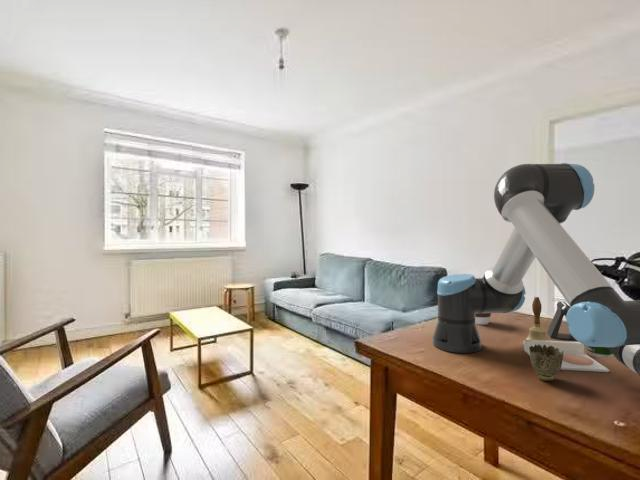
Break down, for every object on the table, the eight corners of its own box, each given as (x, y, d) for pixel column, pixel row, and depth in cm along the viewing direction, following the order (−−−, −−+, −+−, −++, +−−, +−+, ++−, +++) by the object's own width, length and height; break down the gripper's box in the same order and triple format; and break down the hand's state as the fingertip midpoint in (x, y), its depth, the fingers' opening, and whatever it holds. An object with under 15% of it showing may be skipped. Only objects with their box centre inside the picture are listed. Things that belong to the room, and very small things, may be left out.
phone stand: (576, 335, 122) (577, 302, 122) (581, 341, 117) (581, 306, 116) (546, 333, 126) (546, 300, 126) (550, 338, 121) (550, 304, 120)
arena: (543, 368, 96) (543, 356, 96) (524, 350, 110) (524, 339, 109) (609, 372, 93) (609, 359, 92) (581, 353, 106) (581, 341, 106)
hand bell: (521, 346, 113) (521, 298, 113) (524, 339, 120) (524, 293, 119) (551, 351, 108) (551, 301, 108) (553, 343, 115) (553, 296, 114)
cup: (523, 372, 93) (523, 343, 93) (552, 373, 93) (552, 343, 92) (538, 385, 86) (538, 354, 86) (569, 386, 85) (570, 354, 85)
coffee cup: (480, 328, 134) (480, 297, 134) (459, 321, 144) (459, 292, 144) (501, 324, 138) (501, 294, 138) (479, 317, 148) (479, 290, 148)
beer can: (602, 359, 85) (603, 310, 85) (581, 351, 90) (581, 305, 90) (619, 356, 86) (620, 309, 86) (597, 349, 92) (598, 304, 91)
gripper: (589, 368, 74) (551, 334, 96) (699, 377, 68) (631, 339, 91) (590, 333, 73) (551, 307, 96) (700, 340, 68) (632, 310, 90)
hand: (590, 322), depth 93 cm, fingers closed on beer can, 5 cm apart
